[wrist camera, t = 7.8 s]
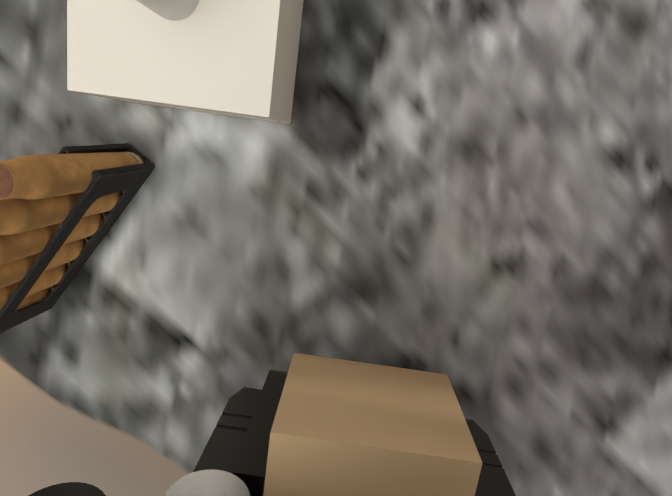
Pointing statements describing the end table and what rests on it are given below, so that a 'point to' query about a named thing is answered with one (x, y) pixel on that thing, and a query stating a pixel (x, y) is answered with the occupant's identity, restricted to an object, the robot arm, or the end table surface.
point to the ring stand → (188, 54)
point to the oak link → (368, 433)
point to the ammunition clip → (58, 219)
